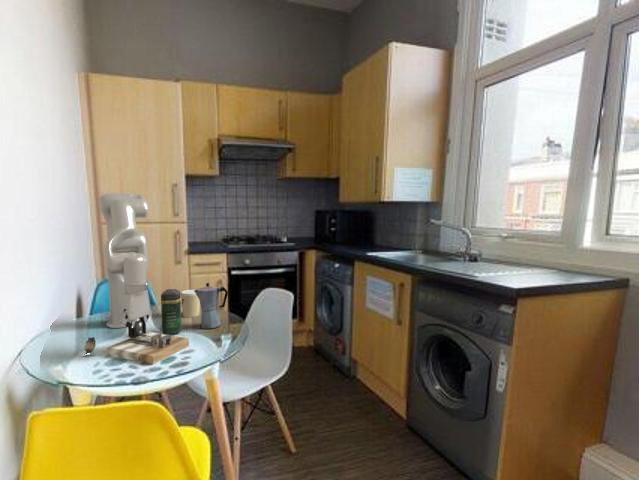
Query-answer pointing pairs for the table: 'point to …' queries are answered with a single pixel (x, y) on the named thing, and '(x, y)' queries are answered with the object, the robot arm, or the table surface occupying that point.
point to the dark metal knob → (140, 333)
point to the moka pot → (210, 305)
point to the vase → (90, 346)
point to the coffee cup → (190, 303)
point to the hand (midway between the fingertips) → (137, 334)
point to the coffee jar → (171, 312)
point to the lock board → (148, 348)
